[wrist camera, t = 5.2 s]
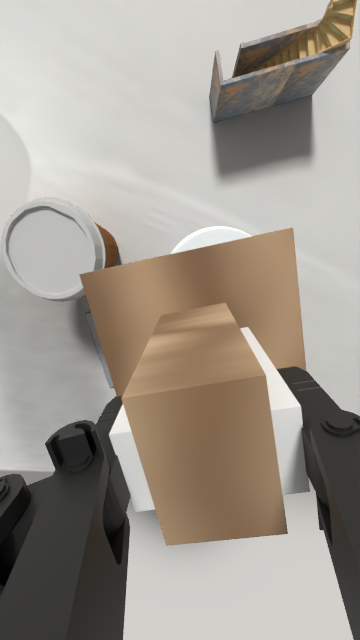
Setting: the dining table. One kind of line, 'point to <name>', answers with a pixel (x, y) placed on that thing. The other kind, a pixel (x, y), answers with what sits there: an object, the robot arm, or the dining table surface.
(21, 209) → the disposable coffee cup
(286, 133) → the dining table surface
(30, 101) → the dining table surface
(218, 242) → the supplement tub
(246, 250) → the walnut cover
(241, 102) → the ruin model on sheet
